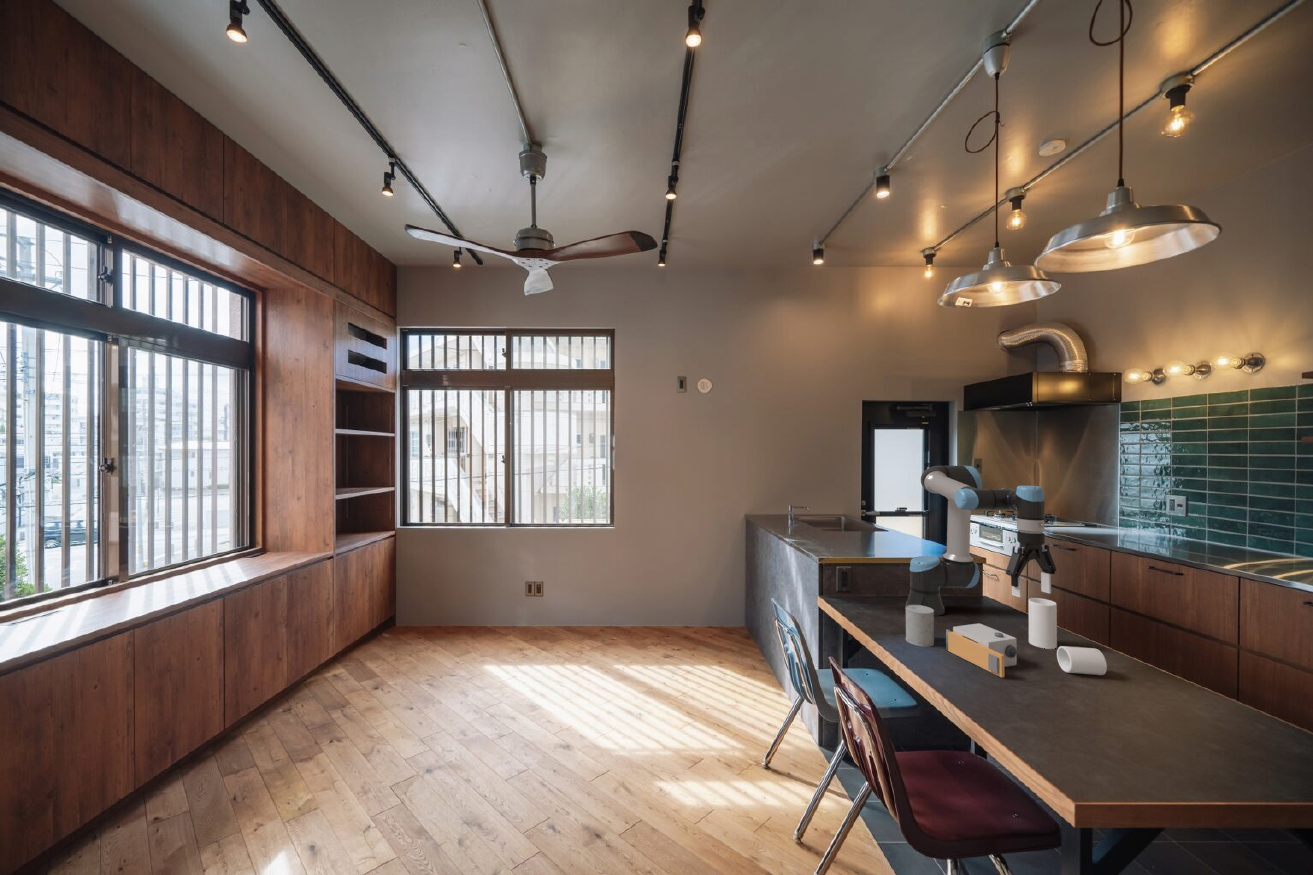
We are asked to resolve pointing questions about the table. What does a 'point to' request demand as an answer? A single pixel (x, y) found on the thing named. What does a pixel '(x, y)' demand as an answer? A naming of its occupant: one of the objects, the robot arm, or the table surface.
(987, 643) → the knobbed white cabinet
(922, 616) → the grey mottled cylinder
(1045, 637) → the cup
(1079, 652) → the mug
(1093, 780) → the table surface
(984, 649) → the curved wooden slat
